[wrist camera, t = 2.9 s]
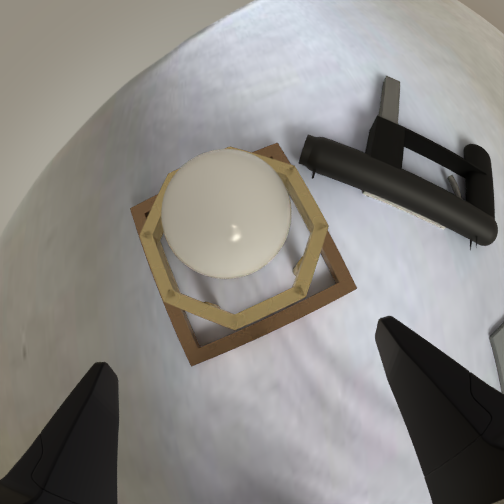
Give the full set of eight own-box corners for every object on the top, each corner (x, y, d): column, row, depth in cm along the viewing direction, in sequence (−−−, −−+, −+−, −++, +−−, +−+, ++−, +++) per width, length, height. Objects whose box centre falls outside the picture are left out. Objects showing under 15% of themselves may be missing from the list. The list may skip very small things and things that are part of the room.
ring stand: (194, 364, 20) (175, 377, 15) (134, 212, 23) (107, 188, 18) (352, 289, 21) (377, 281, 16) (276, 149, 24) (280, 112, 19)
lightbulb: (197, 294, 21) (139, 273, 11) (194, 213, 23) (147, 133, 12) (284, 288, 21) (308, 259, 11) (275, 205, 23) (287, 118, 12)
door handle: (335, 51, 24) (295, 164, 20) (492, 127, 22) (503, 256, 18) (330, 73, 28) (290, 185, 24) (478, 142, 26) (481, 265, 22)
